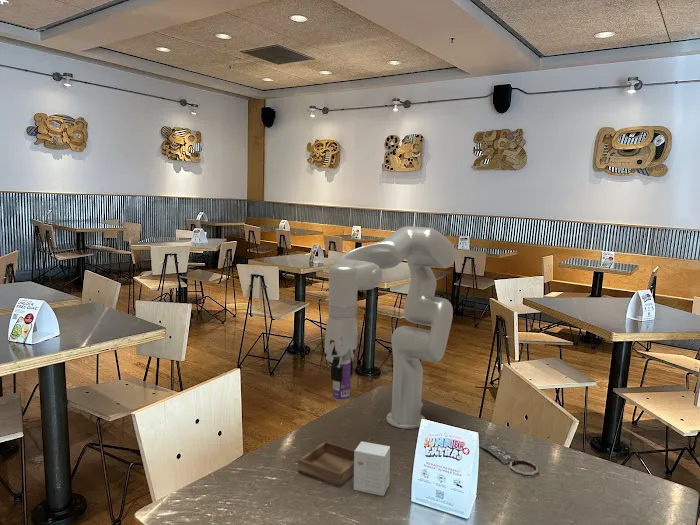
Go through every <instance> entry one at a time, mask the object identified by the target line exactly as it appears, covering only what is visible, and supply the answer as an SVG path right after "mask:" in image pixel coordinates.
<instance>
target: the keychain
mask: <svg viewBox="0 0 700 525" xmlns="http://www.w3.org/2000/svg"><path fill="white" fill-rule="evenodd" d="M479 446H480V448H479V449H481V450H486V451H488V453H491V454H492V455H493V457H496V458H497V459H498V460H499V461H501V462H500V463H501V464H502V465H508V464H509V466H508V469H509V470H510V471H511V472H512V473H513V474H515V475H517V476H519V477H523V478H533V477H537V476H538V473H539V467H538V466H537V465H536V464H535V463H534V462H532V461H528V460H525V459H519V457H517V456H516V455H515V454H513V453H512V452H511V451H509V450H508V449H506V448H505V447H503V446H501V445H500V444H498V443H495V442H490V443H487V444H481V445H479ZM516 465H523V466H528V467H530V468H532V469H533V470H534V471H531V472H528V471H527V472H526V471H521V470H518V469H516V468H515V467H513V466H516Z"/></svg>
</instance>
